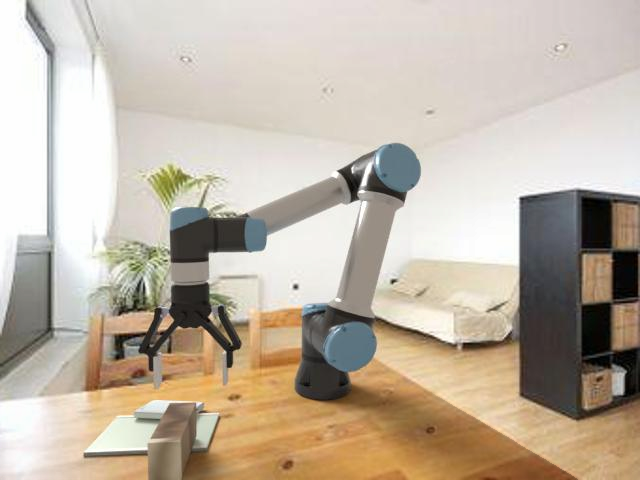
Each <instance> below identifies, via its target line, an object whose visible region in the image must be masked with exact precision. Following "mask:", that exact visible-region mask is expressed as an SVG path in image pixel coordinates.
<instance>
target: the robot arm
mask: <svg viewBox="0 0 640 480" xmlns="http://www.w3.org/2000/svg"><path fill="white" fill-rule="evenodd" d="M421 167H422V166H421V162H420V160H419V158H418V157H417V155H416V152H415V151H413V149H412V148H410V147H409V146H408V145H406V144H404V143H400V142H390V143H388V144H387V143H386V144H383V145H381V146H379V147H378V148H377V149H375V150H374V149H373V150H372V151H370V152H367V153H364V154H363V155H361V156H360V157H357V159H355V160H353V161H351V162H350V163H349V164H347V165H345V166H344V167H342V168H340V169H337V170H335V171H333V172H332V173H331V175H330V177H328V178H326V179H323V180H321V181H319V182H316V183H314V184H311V185H309V186H306V187H305V188H302V189H299V190H297V191H294V192H292V193H290V194H287V195H284V196H283V197H280V198H278V199H275V200H272V201H271V202H268V203H266V204H263V205H261V206H258V207H256V208H254V209H251V210H249V211H247V212H245V213H242V214H239V215H237V216H235V217H233V216H231V217H229V216H227V217H216V216H214V217H213V216H210V214H209V210H208V209H207V208H206V207H201V206H179V207H174V208H172V210H171V211H170V213H169V215H170V217H169V250H170V251H169V253H170V282H172V284H171V286H170V307H168V306H167V307H166V306H164V305H159V306H157V307H155V309H154V312H153V319H152V321H151V323H150V326H149V328H147V332H146V333H145V335H144V337H143V339H142V342H141V344H140V346H139V348H138V350H137V352H138V353H139V354H140V355H143V354H144V355H146V356H147V358H148V359H147V360H148V361H147V362H148V372H151V373H152V372H153V390H159V388H160V387H161V386H162V385H163V368H162V366H163V365H162V363H163V362H162V361H163V359H162V356H163V355H162V354H163V353H162V352H159V350H160V349H161V348H162V347H163V345H164V344H165V343H166V342H167V340H168V339H169V338H170V337H171V335H172V334H174V332H175V331H176V330H177V329H178V327H179V328H180V329H182V330H184V329H190V328H192V329H199V328H201V327H202V328H203V329H204V330H205V331H206V332H207V333H208V334H209V335H210V336H211V337H212V338H213V339H214V341H215V342H216V343H217V344H218V345H219V346H220V347H221V348H222V349H223V352H222V354H221V356H222V357H221V358H222V361H221V363H222V364H221V366H222V386H223V387H224V386H225V387H227V385H228V383H229V369H232V367H233V365H234V352H235V351H239V350H240V349H241V347H242V344H243V342H242V340H241V339H240V337H239V334H238V332H237V331H236V329H235V327H234V325H233V324H232V321H231V320H230V318H229V316H228V315H227V308H226V304H225V303H220V304H218V305H213V306H212V305H211V302H210V300H211V299H210V294H211V293H210V283H209V282H208V281H209V280H210V254H211V253H212V254H216V253H217V254H218V253H254V252H255V253H257V252H258V253H259V252H263V251H264V250H265V248H266V247H267V241H268V236H270V235H272V234H275V233H278V232H279V231H282V230H285V229H286V228H288V227H291V226H293V225H295V224H298V223H300V222H302V221H304V220H306V219H309V218H311V217H313V216H315V215H318V214H321V213H322V212H325V211H327V210H329V209H332V208H334V207H336V206H338V205H340V204H343V205H345V206H347V205H350V204H351V203H354V202H357V201H360V206H359V210H358V213H357V218H356V220H355V225H354V227H353V228H354V229H353V232H352V236H351V241H350V242H349V243H350V245H349V246H348V247H349V248H348V250H347V254H346V259H345V262H344V267H343V270H342V275H341V278H340V281H339V286H338V288H337V292H336V296H335V298H334V299H332V300H330V301H329V302H313V303H307V304H304V305H303V307H302V309H301V310H302V311H301V359H300V363H299V365H298V369H297V371H296V375H295V378H294V391H295V392H296V393H297V394H298V395H300V396H302V397H304V398H308V399H312V400H321V401H322V400H323V401H324V400H334V399H335V400H336V399H339V398H342V397H345V396H346V395H348V394H349V393H350V392H351V387H352V386H351V377H350V374H349V373H351V372H357V371H359V370H361V369H363V368H364V367H366V366H367V365H368V364H369V363H370V362H371V361H372V359H373V358H374V357H375V355H376V351H377V348H378V339H377V337H376V333H375V331H374V330H373V327H374V323H375V319H376V314H375V313H374V312H373V309H372V304H373V300H374V297H375V293H376V289H377V285H378V282H379V277H380V274H381V269H382V265H383V261H384V259H385V258H384V257H385V254H386V250H387V246H388V243H389V239H390V236H391V235H390V234H391V231H392V227H393V223H394V220H395V216H396V213H397V211H398V210H400V209H401V208H404V206H405V203H406V199H407V196H408V195H407V194H408V192H409V191H411V190H413V189H414V188H415V187H416V186H417V184H418V183H419V181H420V179H421V175H422V168H421ZM211 313H214V315H215V316H216V317H218V319H219V321H220V323H221V325H222V327H223V328H224V330H225V332H226V334H227V337H228V338H229V339H228V338H227V337H226V336H225V335H224V334H223V332H221V331H220V329H219V328H217V326H216V325H215V324H214V322H213V320H212V319H211V318H210V315H211ZM168 314H169V316H170V317H171V318H172V320H173V321H172V322H171V323H170V325H169V326H168V327H167V328H166V330H165V331H164V333H163V334H162V335H161V336H160V337H159V338H158V340H156V342H155V343H154V344H153V345H152V346H151V344H152V342H153V339H154V338H155V335H156V334H157V332H158V330H159V327H160V325H161V324H162V322H163V320H164V318H166V317H167V315H168ZM229 340H230V341H231V342H230V341H229Z"/></svg>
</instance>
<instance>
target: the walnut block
mask: <svg viewBox="0 0 640 480" xmlns="http://www.w3.org/2000/svg"><path fill="white" fill-rule="evenodd" d="M189 402H190V403H170V404H169V406H168V407H167V409H166V411H165V413H164V415H163V416H162V418H161V420H160V422H159V424H158V426H157V427H156V429H155V431H154V433H153V435H152V436H151V438H150V439H149V441H148V443H147V445H148V454H147V469H148V470H147V478H148V479H147V480H182V478H183V474H184V473H185V472H184V471H185V469H186V466H187V463H188V461H189V458H190V455H191V450H192V447H193V444H194V442H195V439H196V436H197V429H196V402H197V401H189Z"/></svg>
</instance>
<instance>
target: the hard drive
mask: <svg viewBox="0 0 640 480" xmlns="http://www.w3.org/2000/svg"><path fill="white" fill-rule="evenodd" d="M190 402H191V401H187V400H186V401H184V400H163V399H162V400H161V399H153V400H151V401H149V402H147V403H146V404H144V405H142V406H141V407H139V408H137V409H136V410H134V412H133V415H134V418H151V419H161V418H162V416H163V415H164V413H165V411H166V409H167V407H168V406H169V404H170V403H190ZM195 402H196V414H197V413H201V411H203V410H204V409H205V402H204V401H195Z"/></svg>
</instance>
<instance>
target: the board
mask: <svg viewBox="0 0 640 480" xmlns="http://www.w3.org/2000/svg"><path fill="white" fill-rule="evenodd" d="M219 418H220V412H204V413H203V412H199V413H197V414H196V429H197V436H196V439H195V442H194V444H193V447H192V450H191V452H194V453H195V452H207V450H208V448H209V445H210V442H211V440H212V436H213V434H214V431H215V429H216V426H217V423H218V420H219ZM160 420H161V419H151V418H134V414H133V415H117V416H115V418H114V419H113V420H112V422H111V423H110V424H109V425H108V426H107V427H106V428H105V429H104V430H103V431H102V432H101V433H100V434H99V435H98V436H97V438H96V439H95V440H93V442H92V443H91V444H90V445H89V446H88V447H87V448H86V449H85V450H84V451H83V457H89V456H90V457H92V456H93V457H95V456H97V457H98V456H115V455H116V456H117V455H118V456H120V455H144V454H146V455H148V445H147V443H148V441H149V439H150V438H151V436H152V435H153V433H154V431H155V429H156V427H157V426H158V424H159V422H160Z"/></svg>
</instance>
